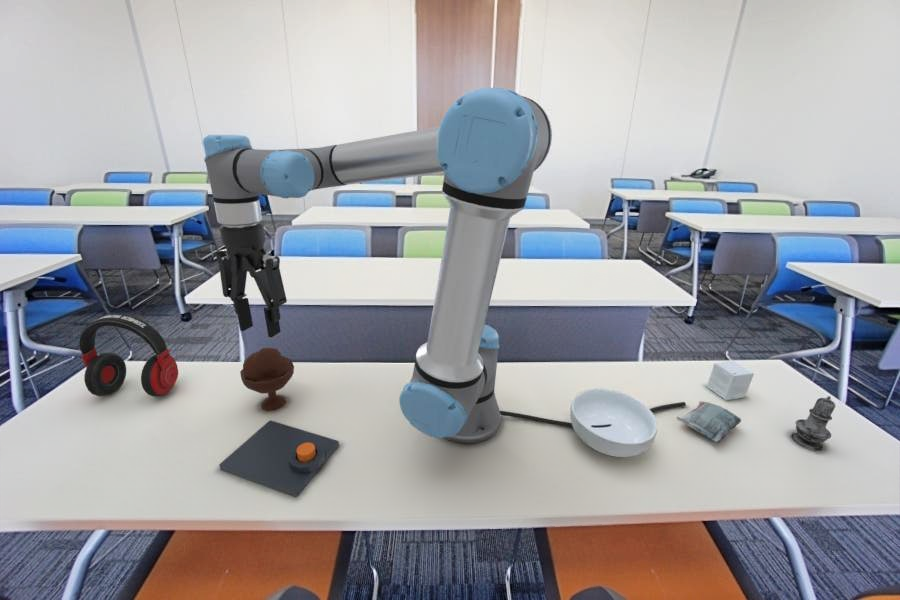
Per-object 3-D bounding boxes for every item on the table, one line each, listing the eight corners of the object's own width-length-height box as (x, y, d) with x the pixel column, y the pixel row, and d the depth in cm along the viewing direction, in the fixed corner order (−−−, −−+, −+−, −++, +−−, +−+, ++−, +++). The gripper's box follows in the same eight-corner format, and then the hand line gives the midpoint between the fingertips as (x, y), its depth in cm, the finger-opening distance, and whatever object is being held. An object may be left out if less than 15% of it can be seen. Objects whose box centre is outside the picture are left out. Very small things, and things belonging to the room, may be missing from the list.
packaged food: (673, 426, 89) (679, 408, 87) (698, 407, 95) (705, 390, 93) (715, 451, 82) (723, 432, 80) (739, 429, 89) (746, 411, 87)
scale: (341, 447, 80) (340, 435, 79) (299, 498, 69) (297, 486, 68) (270, 425, 85) (268, 414, 84) (220, 470, 74) (217, 458, 73)
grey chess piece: (824, 456, 82) (849, 409, 77) (788, 441, 85) (810, 396, 81) (824, 441, 86) (849, 396, 81) (790, 428, 89) (811, 384, 85)
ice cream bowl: (306, 391, 96) (298, 336, 90) (284, 422, 86) (274, 363, 80) (264, 387, 97) (254, 333, 91) (237, 417, 87) (224, 359, 81)
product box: (745, 398, 99) (755, 373, 96) (725, 401, 98) (735, 376, 95) (724, 383, 105) (733, 360, 102) (705, 386, 103) (714, 362, 100)
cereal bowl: (557, 412, 92) (562, 386, 89) (628, 413, 92) (635, 388, 90) (580, 470, 76) (586, 441, 74) (665, 471, 77) (675, 443, 74)
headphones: (83, 405, 89) (50, 326, 81) (116, 379, 98) (89, 306, 90) (164, 405, 90) (139, 327, 82) (189, 380, 99) (169, 307, 91)
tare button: (319, 452, 75) (318, 445, 74) (308, 464, 72) (307, 457, 72) (305, 447, 76) (304, 440, 75) (293, 459, 73) (292, 452, 73)
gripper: (297, 224, 75) (310, 331, 84) (217, 214, 81) (238, 316, 90) (268, 233, 69) (286, 348, 78) (184, 221, 74) (210, 330, 84)
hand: (260, 331), depth 84 cm, fingers open, 7 cm apart
